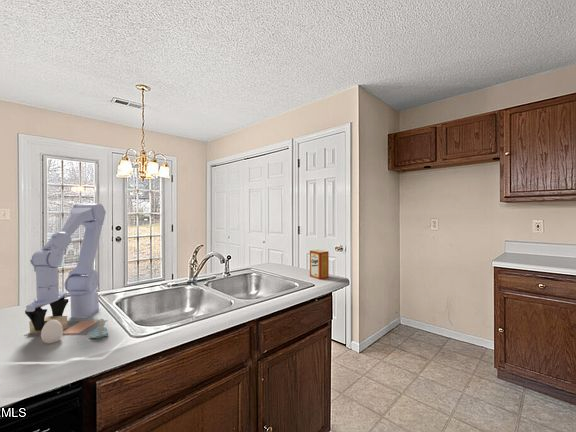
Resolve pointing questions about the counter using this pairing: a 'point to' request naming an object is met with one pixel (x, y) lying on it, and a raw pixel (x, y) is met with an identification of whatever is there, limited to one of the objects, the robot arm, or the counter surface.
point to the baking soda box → (319, 264)
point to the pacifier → (99, 331)
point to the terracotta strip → (79, 327)
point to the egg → (51, 331)
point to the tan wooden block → (59, 318)
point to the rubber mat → (70, 324)
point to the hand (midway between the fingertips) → (48, 325)
